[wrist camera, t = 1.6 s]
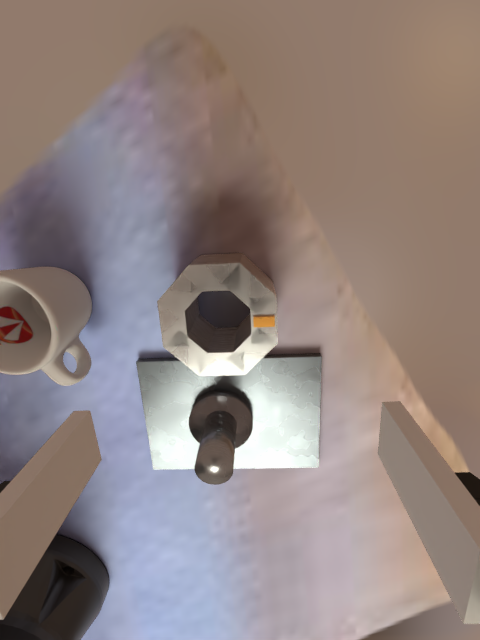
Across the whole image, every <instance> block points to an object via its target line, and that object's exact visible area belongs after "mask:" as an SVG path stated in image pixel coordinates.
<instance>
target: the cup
mask: <svg viewBox="0 0 480 640" xmlns="http://www.w3.org/2000/svg"><path fill="white" fill-rule="evenodd" d="M91 311H92V301H91V297H90V294H89V291H88V290H87V288H86V286H85V285H84V283H83V282H82V281H81V280H80V279H79V278H78V277H77V276H75V275H74V274H72V273H70V272H69V271H66V270H64V269H61V268H56V267H33V268H23V269H12V270H2V271H0V373H4V374H11V375H22V374H28V373H32V372H35V371H37V370H39V369H41V370H42V371H44V372H45V373H46V374H47V375H48V376H49V377H50V378H51V379H52V380H53V381H54V382H56V383H58V384H60V385H62V386H70V385H73V384H75V383H77V382H79V381H81V380H82V379H83V378H84V377H85V376H86V375H87V374H88V372H89V370H90V367H91V358H90V355H89V353H88V351H87V349H86V348H85V346H84V345H83V344H82V342H81V341H80V339H79V333H80V332H81V330H82V329H83V328H84V327H85V325H86V324H87V322H88V320H89V318H90V315H91ZM65 352H69V353H70V354H72V355H73V356H74V358H75V359H76V362H77V369H76V371H75V372H74V373H71V372H70V371H68V370H67V368H66V367H65V365H64V363H63V355H64V353H65Z"/></svg>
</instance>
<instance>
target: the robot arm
mask: <svg viewBox="0 0 480 640" xmlns="http://www.w3.org/2000/svg"><path fill="white" fill-rule="evenodd" d="M378 455H379V457H380V459H381V461H382V463H383V465H384V467H385V469H386V471H387V473H388V475H389V477H390V479H391V481H392V483H393V485H394V487H395V489H396V491H397V493H398V495H399V497H400V499H401V501H402V503H403V505H404V507H405V509H406V511H407V513H408V515H409V517H410V519H411V521H412V523H413V525H414V527H415V529H416V531H417V533H418V535H419V537H420V539H421V540H422V542H423V544H424V546H425V548H426V550H427V552H428V554H429V556H430V558H431V560H432V562H433V564H434V566H435V568H436V570H437V572H438V574H439V576H440V578H441V580H442V582H443V584H444V586H445V588H446V590H447V592H448V594H449V596H450V598H451V600H452V602H453V604H454V606H455V608H456V610H457V612H458V614H459V616H460V618H461V620H462V622H463V624H480V479H478V478H477V477H476V476H474V475H473V474H472V473H470V472H463V473H454V472H453V470H452V469H451V468H450V466H449V465H448V464H447V462H446V461H445V460H444V458H443V457H442V456H441V455H440V453H439V452H438V451H437V449H436V448H435V447H434V445H433V444H432V443H431V441H430V440H429V439H428V437H427V436H426V435H425V433H424V432H423V431H422V429H421V428H420V427H419V426H418V424H417V423H416V422H415V420H414V419H413V418H412V416H411V415H410V414H409V412H408V411H407V410H406V408H405V407H404V406H403V404H402V403H401V402H400V401H398V402H382V411H381V423H380V435H379V447H378ZM101 460H102V459H101V455H100V451H99V446H98V442H97V438H96V434H95V429H94V425H93V421H92V417H91V412H90V411H74V412H73V413H72V414H71V415H70V416H69V417H68V418H67V419H66V421H65V422H64V423H63V424H62V425H61V426H60V427H59V428H58V429H57V431H56V432H55V433H54V434H53V435H52V436H51V437H50V438H49V439H48V441H47V442H46V443H45V444H44V445H43V446H42V447H41V448H40V450H39V451H38V452H37V453H36V454H35V455H34V456H33V457H32V458H31V460H30V461H29V462H28V463H27V464H26V465H25V466H24V467H23V468H22V470H21V471H20V472H19V473H18V474H17V475H16V476H15V477H14V478H13V480H12V481H4V482H3V483H1V484H0V640H81V638H82V637H83V636H84V634H85V633H86V631H87V630H88V628H89V627H90V625H91V624H92V622H93V621H94V620H95V619H96V617H97V616H98V614H99V612H100V610H101V608H102V605H103V602H104V600H105V597H106V595H107V592H108V588H109V579H108V574H107V572H106V569H105V567H104V566H103V564H102V563H101V561H100V560H99V559H98V558H97V557H96V556H95V555H94V554H93V553H92V552H91V551H90V550H89V549H87V548H86V547H84V546H83V545H81V544H79V543H77V542H75V541H73V540H71V539H69V538H66V537H63V536H59V535H56V533H57V532H58V530H59V528H60V527H61V525H62V523H63V522H64V520H65V519H66V517H67V515H68V514H69V512H70V510H71V509H72V507H73V505H74V504H75V502H76V501H77V499H78V497H79V496H80V494H81V492H82V491H83V489H84V488H85V486H86V484H87V483H88V481H89V479H90V478H91V476H92V474H93V473H94V471H95V470H96V468H97V466H98V465H99V463H100V461H101Z"/></svg>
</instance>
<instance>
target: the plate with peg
mask: <svg viewBox="0 0 480 640" xmlns="http://www.w3.org/2000/svg"><path fill="white" fill-rule="evenodd" d="M136 364H137V370H138V377H139V383H140V389H141V395H142V402H143V408H144V414H145V420H146V427H147V433H148V439H149V445H150V451H151V458H152V464H153V470H155V469H195V473H196V475H197V476H198V478H199V479H201V480H202V481H203V482H205V483H208V484H222V483H224V482H226V481H228V480H229V479H230V478H231V476H232V474H233V469H238V468H318V466H319V432H320V398H321V364H322V356H321V354H320V353H314V354H280V355H265V356H264V357H263V358H262V359H261V360H260V361H259V362H258V363H257V364H256V365H255V366H254V367H253V368H252V369H251V370H250V371H249V372H248V373H247V374H246V375H221V376H199V375H197V374H196V373H195V372H194V371H192V370H191V369H190V368H189V367H187V366H186V365H185V364H184V363H182V362H181V361H180V360H179V359H178V358H145V359H138V360H137V362H136Z"/></svg>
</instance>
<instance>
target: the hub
mask: <svg viewBox="0 0 480 640" xmlns="http://www.w3.org/2000/svg"><path fill="white" fill-rule="evenodd" d="M227 290H230V291H231V292H232V293H233V294H234V295H236V296H237V297H238V298H239V299H240V300H241V301H242V302H243V303H245V304H246V305H247V306H248V307H249V308H250V314H249V315H248V316H247V317H246V318H245V319H244V320H243V321H242V322H241V324H240V325H239V326H238V327H225V328H215V327H214V326H213V325H212V324H211V323H209V322H208V321H207V320H206V319H205V318H204V317H202V316H201V315H200V314H199V306H198V296H199V294H200V293H201V292H202V291H227ZM157 303H158V310H159V318H160V325H161V333H162V341H163V347H164V348H165V349H166V350H168V351H169V352H170V353H171V354H173V355H174V356H175V357H176V358H178V359H179V360H180V361H181V362H182V363H184V364H185V365H186V366H187V367H189V368H190V369H191V370H192V371H194V372H195V373H196V374H197V375H199V376H221V375H246V374H247V373H248V372H249V371H250V370H251V369H252V368H253V367H254V366H255V365H256V364H257V363H258V362H259V361H260V360H261V359H262V358H263V357H264V356H265V355H266V354H267V353H268V352H269V351H270V350H271V349H272V348H273V347H274V346H275V345H276V344H277V343H278V342H277V296H276V292H275V289H274V285H273V281H272V280H271V279H270V278H269V277H268V276H267V275H266V274H265V273H263V272H262V271H261V270H260V269H259V268H258V267H257V266H256V265H255V264H254V263H253V262H252V261H250V260H249V259H248V258H247V257H246V256H245V255H244V254H243V253H229V254H207V255H200V256H199V257H198V258H196V259H195V260H194V261H193V262H192V263H190V264H189V265H188V266H187V267H186V269H185V270H184V271H183V272H182V273H181V274H180V276H179V277H178V278H177V279H176V280H175V281H174V283H173V284H172V285H171V286H170V287H169V288H168V290H167V291H166V292H165V293H164V294H163V295H162V297H161V298H160V299H159V300H158V301H157Z"/></svg>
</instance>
